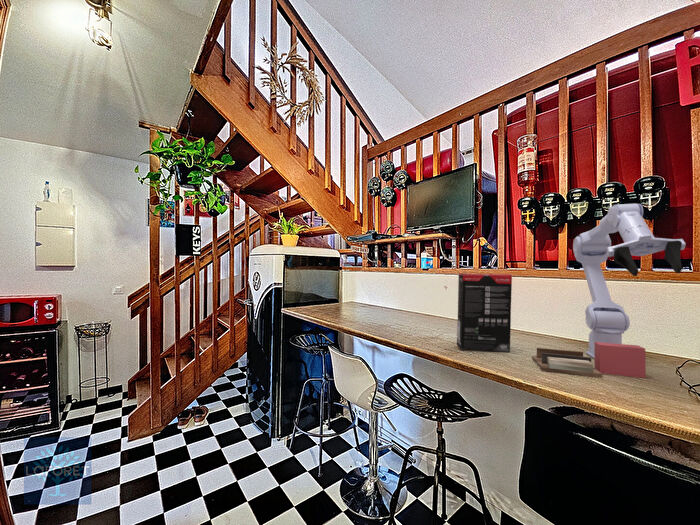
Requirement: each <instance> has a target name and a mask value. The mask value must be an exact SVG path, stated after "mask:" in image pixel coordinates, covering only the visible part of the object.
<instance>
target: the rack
mask: <svg viewBox="0 0 700 525" xmlns="http://www.w3.org/2000/svg"><path fill="white" fill-rule="evenodd" d="M531 357H532V358H531V359H532V361H533V362H534V361H535V362H536V363H537V364H536V363H535V362H534V363H535V364H536V365H537V366H539V367H540V368H539V367H538V368H539V369H540V370H541V371H542V372H546V373H555V374H563V375H574V376H575V375H576V376H580V377H581V376H582V377H583V376H584V377H591V378H593V377H594V378H601V379H602V378H604V376H603V375H604V374H603V373H600V372H599V371H598V370H596V369H595V366H594V364H593V362H592V356H590V357H589V356H584V352H583V351H578V350H577V351H576V350H567V349H566V350H565V349H555V348H553V349H552V348H544V347H536V355H531Z"/></svg>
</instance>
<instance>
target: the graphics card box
mask: <svg viewBox="0 0 700 525" xmlns="http://www.w3.org/2000/svg"><path fill="white" fill-rule="evenodd" d="M512 282H513V276H512V274H509V273H507V274H503V273H501V274H500V273H459V274H458V286H457V287H458V288H457V290H458V291H457V292H458V293H457V324H456V325H457V331H456V345H457V346H458V347H459V349H461V350H462V351H463V350H467V351H480V352H481V351H484V352H487V351H488V352H502V353H510V352H511V331H512V330H511V328H512V327H511V326H512V325H511V321H512V320H511V319H512V318H511V317H512V316H511V315H512V313H511V312H512Z"/></svg>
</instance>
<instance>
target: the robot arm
mask: <svg viewBox="0 0 700 525" xmlns="http://www.w3.org/2000/svg"><path fill="white" fill-rule="evenodd" d="M617 232H619V235H620V237H621V238H622V241H623V243H620V244H616V245H613V246H612V240H611V237H610V235H609V234H615V233H617ZM685 248H686V242H685V241H684V239H683V238H676V239H675V238H673V239H672V238H665V237H664V238H663V237H655V235H654V234H653V233H652V230H651V229H650V228H649V226H648V224H647V223H646V221H645V219H644V208H643V205H642V204H641V203H624V204H623V203H622V204H621V203H620V204H614V205H612V206H610V207H609V208H608V210H607V214H606V215H605V216H604V217H602V219H600V220H599V224H598V225H596V226H595V227H593V228H592V229H590V230H588V231H585V232H582V233H580V234H578V235H577V236H576V237H575V238H574V239H573V243H572V250H573V254H574V257H575V259H576V262H578V263H580V264H581V265H582V268H583V272H584V275H585V279H586V283H587V286H588V290H589V293H590V296H591V301H592V302H591V303H590V304H588V305H587V306H586V308H585V311H584V312H585V314H584V315H585V324H586V326H587V328H589V329H590V330H591V331H590V332H589V334H588V350H587V351H585V354H587V355H588V356H590V357H591V358H593V359H594V360H595V342H601V343H614V344H623V338H622V337H623V336H622V334H625V332H626V331H627V330H629V329H630V324H631V322H630V317H629V315H628V314H627V313H626V311H625V309H624V307H623V306H621V305H620V304H618V303H615V302H614V301H612V298H611V294H610V292H609V289H608V286H607V283H606V280H605V277H604V273H603V270H602V267H601V264H602V263H604V262H606V261H607V260H608V258H611V257H613V262H614V263H615V264H617V265H620V266H621V267H623V268H624V269H625V270H627V271H628V272H629V273H630V274H631V275H632V276H633V277H637V276H638V272H639V269H638V266H637V264H636V262H635V261H634V258H633V257H632V256H635V257H643V256H647V255H652V254H655V253H659V252H662V251H664V256H663V259H664V260H666V261H667V262H668V264H669V265H670V266H671V268H672V270H673V271H674V272H675V274H680V273H682V270H683V264H682V261H681V251H682V250H685Z"/></svg>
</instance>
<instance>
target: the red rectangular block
mask: <svg viewBox="0 0 700 525" xmlns="http://www.w3.org/2000/svg"><path fill="white" fill-rule="evenodd" d="M594 368H595V369H596V370H598V371H599V372H600V373H602V374H603V375H604V374H605V375H612V376H613V375H614V376H624V377H631V376H632V377H631V378H640V377H642V379H646V348H644V347H643V346H640V345H638V344H637V345H636V344H635V345H634V344H624V343H622V344H614V343H601V342H595V359H594Z"/></svg>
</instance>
